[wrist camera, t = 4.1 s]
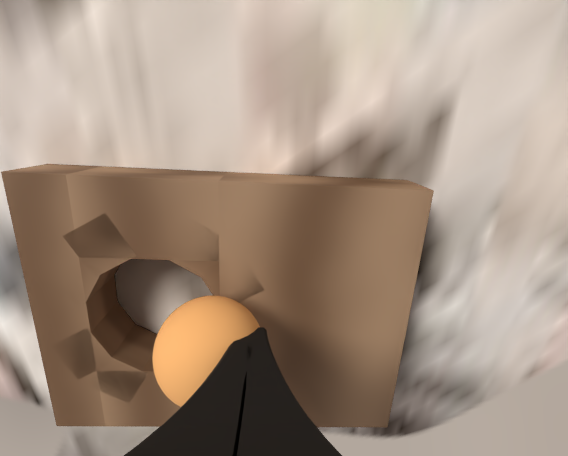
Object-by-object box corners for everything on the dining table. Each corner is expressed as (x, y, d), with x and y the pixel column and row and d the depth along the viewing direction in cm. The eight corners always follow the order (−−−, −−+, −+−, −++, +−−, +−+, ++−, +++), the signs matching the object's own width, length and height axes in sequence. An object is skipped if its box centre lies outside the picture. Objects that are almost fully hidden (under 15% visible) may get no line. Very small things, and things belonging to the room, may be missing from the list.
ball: (190, 437, 9) (104, 374, 10) (252, 435, 12) (178, 386, 14) (255, 300, 10) (169, 267, 12) (294, 331, 13) (222, 301, 15)
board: (407, 180, 15) (433, 190, 12) (372, 388, 18) (387, 427, 16) (47, 164, 14) (0, 171, 11) (86, 385, 17) (56, 426, 15)
